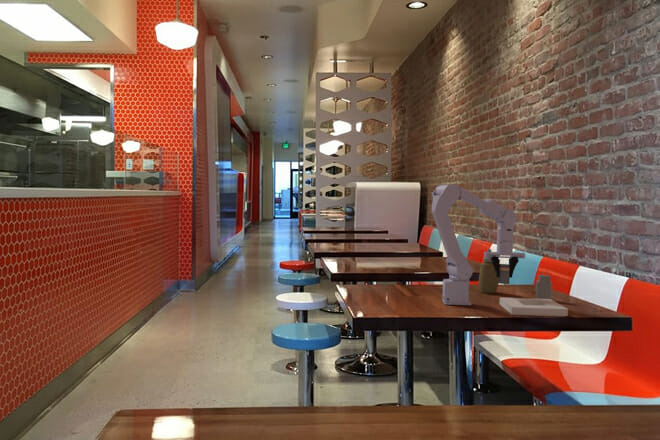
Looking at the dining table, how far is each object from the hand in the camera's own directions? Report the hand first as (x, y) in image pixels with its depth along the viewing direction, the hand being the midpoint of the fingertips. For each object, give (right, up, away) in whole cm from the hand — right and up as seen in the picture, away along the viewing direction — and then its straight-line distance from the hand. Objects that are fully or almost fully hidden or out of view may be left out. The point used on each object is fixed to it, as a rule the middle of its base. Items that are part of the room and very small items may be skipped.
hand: (503, 277), depth 200 cm
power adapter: (+17, -10, +6) cm, 20 cm away
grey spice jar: (0, -2, 0) cm, 2 cm away
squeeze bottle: (0, -9, +21) cm, 23 cm away
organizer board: (+5, -10, -14) cm, 18 cm away
